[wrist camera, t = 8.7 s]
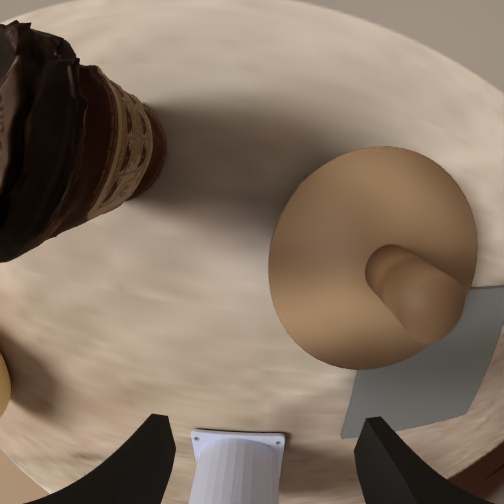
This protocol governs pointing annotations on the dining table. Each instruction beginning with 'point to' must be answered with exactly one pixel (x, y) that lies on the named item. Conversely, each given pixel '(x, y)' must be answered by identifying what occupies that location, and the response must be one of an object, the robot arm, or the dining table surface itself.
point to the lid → (372, 258)
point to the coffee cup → (65, 141)
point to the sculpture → (4, 386)
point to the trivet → (432, 372)
